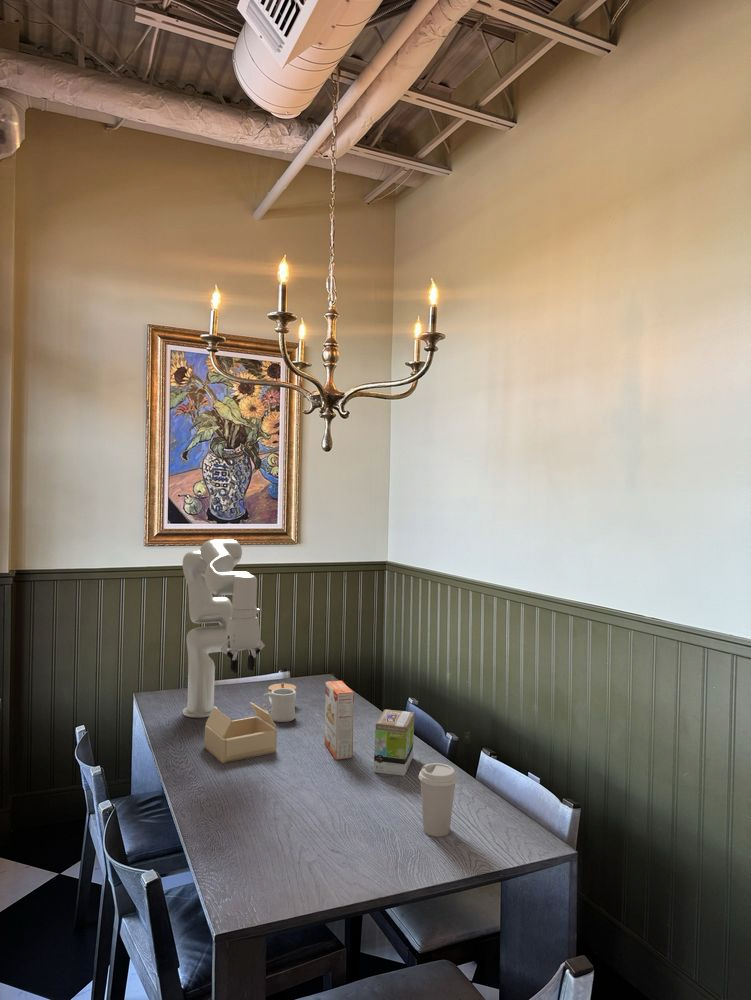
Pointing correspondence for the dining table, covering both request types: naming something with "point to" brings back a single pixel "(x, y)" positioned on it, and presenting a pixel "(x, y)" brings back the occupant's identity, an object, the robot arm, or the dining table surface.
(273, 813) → the dining table surface
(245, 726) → the carton
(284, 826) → the dining table surface
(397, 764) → the tea box
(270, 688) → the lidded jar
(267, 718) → the flap far
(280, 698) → the mug
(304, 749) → the dining table surface
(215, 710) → the flap near
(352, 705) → the cracker box
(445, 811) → the coffee cup
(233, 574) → the robot arm
